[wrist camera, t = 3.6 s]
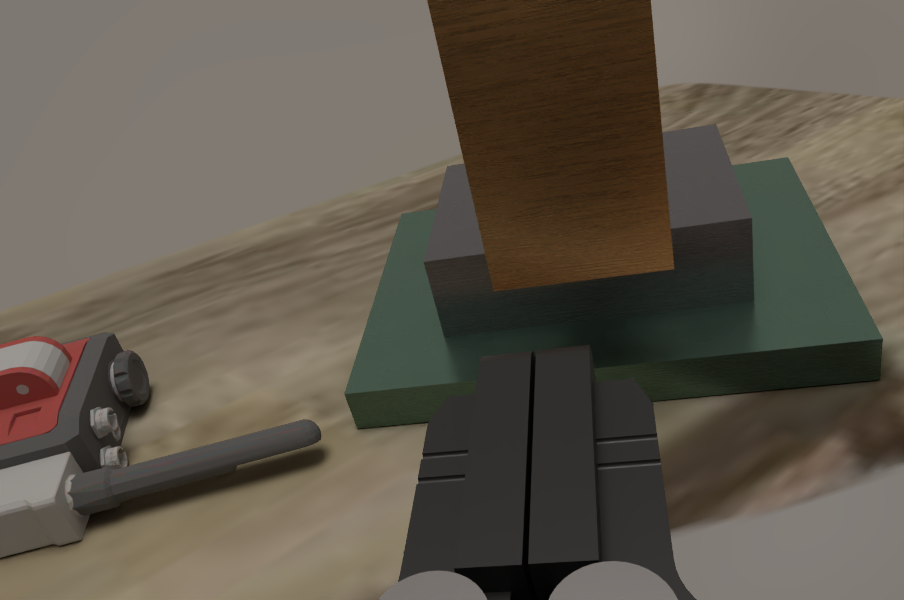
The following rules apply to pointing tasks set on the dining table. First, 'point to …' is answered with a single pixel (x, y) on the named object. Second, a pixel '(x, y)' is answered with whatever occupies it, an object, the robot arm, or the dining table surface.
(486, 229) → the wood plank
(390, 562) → the dining table surface
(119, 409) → the walkie-talkie
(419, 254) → the green tiered platform
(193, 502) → the dining table surface
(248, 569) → the dining table surface
